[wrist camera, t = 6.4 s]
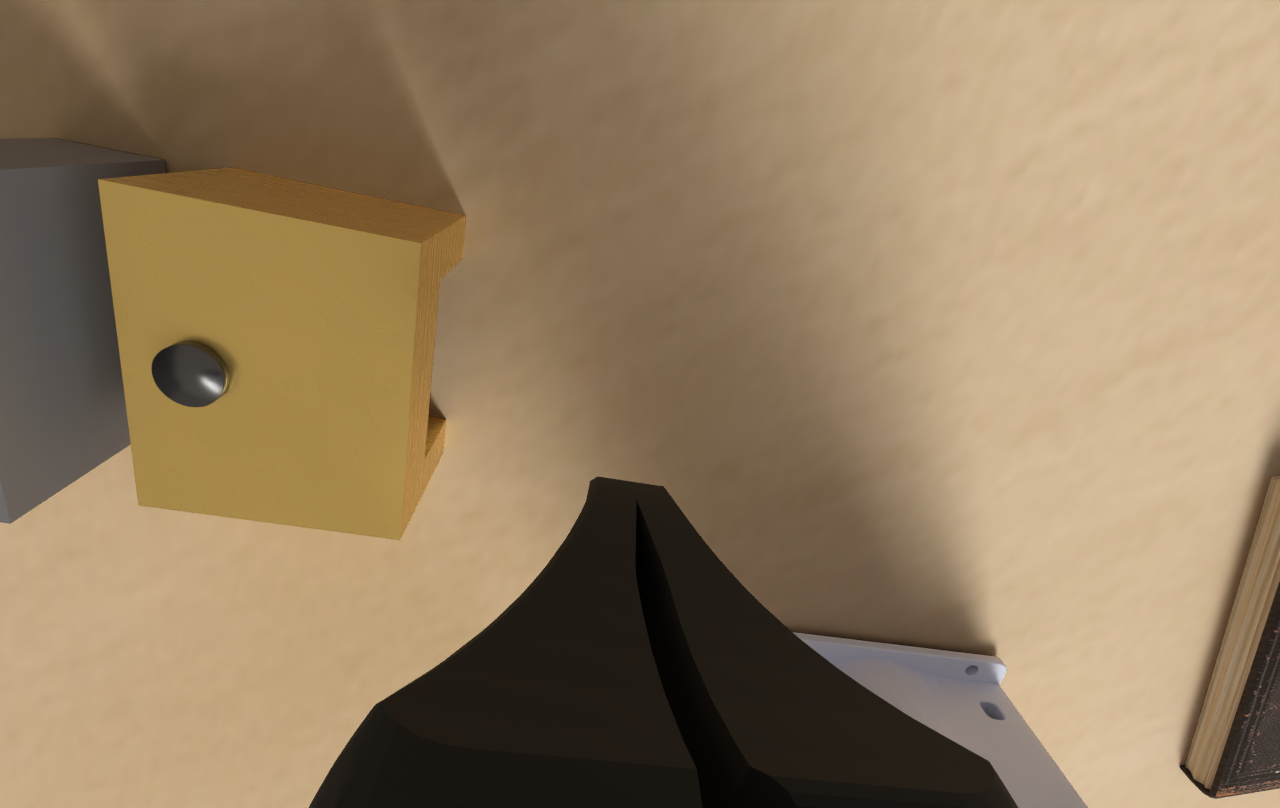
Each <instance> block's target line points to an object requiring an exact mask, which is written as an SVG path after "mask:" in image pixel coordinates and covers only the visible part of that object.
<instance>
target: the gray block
mask: <svg viewBox="0 0 1280 808" xmlns="http://www.w3.org/2000/svg"><path fill="white" fill-rule="evenodd" d="M162 173H166V165H165V160H162V159H157V158H152V157H147V156H142V155H137V154H132V153H127V152H122V151H117V150H112V149H107V148H102V147H97V146H92V145H87V144H82V143H77V142H72V141H67V140H62V139H57V138H48V139H0V522H3V523H12V522H13V521H15V520H16V519H18V518H19V517H21V516H22V515H24V514H26V513H27V512H29V511H30V510H32V509H33V508H35V507H36V506H38V505H39V504H41V503H42V502H44V501H45V500H47V499H48V498H50V497H51V496H53V495H54V494H56V493H57V492H59V491H60V490H62V489H63V488H65V487H66V486H68V485H70V484H71V483H73V482H74V481H76V480H77V479H79V478H80V477H82V476H83V475H85V474H86V473H88V472H89V471H91V470H92V469H94V468H95V467H97V466H98V465H100V464H101V463H103V462H104V461H106V460H107V459H109V458H110V457H112V456H114V455H115V454H117V453H118V452H120V451H121V450H123V449H124V448H126V447H127V446H129V445H130V444H131V442H130V434H129V426H128V418H127V410H126V402H125V394H124V386H123V378H122V370H121V362H120V354H119V346H118V338H117V330H116V322H115V314H114V306H113V297H112V289H111V281H110V273H109V265H108V257H107V249H106V241H105V233H104V225H103V217H102V209H101V201H100V193H99V185H98V179H106V178H118V177H129V176H140V175H151V174H162Z"/></svg>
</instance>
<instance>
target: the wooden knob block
mask: <svg viewBox="0 0 1280 808" xmlns="http://www.w3.org/2000/svg"><path fill="white" fill-rule="evenodd" d="M98 185H99V193H100V201H101V209H102V217H103V225H104V233H105V241H106V249H107V257H108V265H109V273H110V281H111V289H112V297H113V306H114V314H115V322H116V330H117V338H118V346H119V354H120V362H121V370H122V378H123V386H124V394H125V402H126V410H127V418H128V426H129V434H130V442H131V450H132V458H133V466H134V474H135V482H136V490H137V498H138V505H140V506H147V507H155V508H162V509H170V510H177V511H185V512H192V513H200V514H207V515H215V516H222V517H230V518H237V519H245V520H252V521H260V522H267V523H275V524H282V525H290V526H297V527H305V528H312V529H320V530H327V531H335V532H342V533H350V534H357V535H365V536H372V537H380V538H387V539H395V540H400V539H401V537H402V535H403V533H404V531H405V529H406V527H407V525H408V523H409V521H410V519H411V517H412V515H413V513H414V511H415V509H416V507H417V505H418V503H419V501H420V499H421V497H422V495H423V493H424V491H425V489H426V487H427V485H428V483H429V481H430V479H431V477H432V475H433V473H434V471H435V469H436V466H437V464H438V462H439V460H440V458H441V456H442V454H443V449H444V439H445V428H446V419H440V418H434V417H428V414H429V402H430V390H431V378H432V366H433V355H434V343H435V331H436V319H437V307H438V295H439V284H440V279H441V278H442V277H443V276H444V275H446V274H447V273H448V272H449V271H450V270H451V269H452V268H453V267H454V266H455V265H457V264H458V263H459V262H460V261H461V260H462V254H463V244H464V233H465V223H466V216H464V215H460V214H455V213H450V212H445V211H440V210H435V209H430V208H426V207H421V206H416V205H411V204H406V203H401V202H396V201H391V200H387V199H382V198H377V197H372V196H367V195H362V194H357V193H353V192H348V191H343V190H338V189H333V188H328V187H323V186H319V185H314V184H309V183H304V182H299V181H294V180H289V179H284V178H280V177H275V176H270V175H265V174H260V173H255V172H250V171H246V170H241V169H236V168H231V167H229V168H218V169H207V170H195V171H184V172H173V173H162V174H151V175H140V176H129V177H118V178H106V179H98Z"/></svg>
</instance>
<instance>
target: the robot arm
mask: <svg viewBox="0 0 1280 808" xmlns="http://www.w3.org/2000/svg"><path fill="white" fill-rule="evenodd" d="M1006 671H1007V668H1006V665H1005V664H1004V663H1003V661H1002V660H1001V659H1000V658H998V657H995V656H987V655H979V654H970V653H962V652H954V651H945V650H937V649H929V648H920V647H912V646H904V645H895V644H887V643H878V642H870V641H862V640H853V639H845V638H837V637H828V636H820V635H812V634H803V633H795V632H791V631H790V630H789V629H788V628H787V627H786V626H785V625H783V624H782V623H781V622H780V621H779V620H778V619H777V618H776V617H775V616H774V615H773V614H771V613H770V612H769V611H768V610H767V609H766V608H765V607H764V606H763V605H762V604H761V603H759V602H758V601H757V600H756V599H755V598H754V597H753V596H752V595H751V594H750V593H749V592H748V591H747V589H746V588H745V587H744V586H743V585H742V584H741V583H740V582H739V581H738V580H737V579H736V578H735V576H734V575H733V574H732V573H731V572H730V571H729V570H728V569H727V568H726V567H725V565H724V564H723V563H722V562H721V561H720V560H719V558H718V557H717V556H716V555H715V554H714V553H713V551H712V550H711V549H710V548H709V546H708V545H707V544H706V543H705V541H704V540H703V539H702V538H701V536H700V535H699V534H698V532H697V531H696V530H695V529H694V527H693V526H692V525H691V523H690V522H689V521H688V519H687V518H686V516H685V515H684V514H683V512H682V511H681V510H680V508H679V507H678V506H677V504H676V503H675V501H674V500H673V499H672V497H671V496H670V494H669V493H668V492H667V490H666V489H665V488H664V487H663V486H656V485H650V484H643V483H636V482H630V481H623V480H616V479H610V478H603V477H596V478H595V479H593V480H591V481H590V485H589V490H588V495H587V500H586V503H585V505H584V507H583V509H582V511H581V513H580V515H579V517H578V519H577V520H576V522H575V524H574V526H573V528H572V529H571V531H570V533H569V534H568V536H567V538H566V539H565V541H564V542H563V543H562V545H561V546H560V548H559V549H558V550H557V552H556V553H555V555H554V556H553V557H552V559H551V560H550V562H549V563H548V564H547V565H546V567H545V568H544V569H543V570H542V572H541V573H540V574H539V575H538V576H537V578H536V579H535V580H534V581H533V582H532V583H531V584H530V586H529V587H528V588H527V589H526V590H525V591H524V592H523V593H522V594H521V595H520V596H519V597H518V598H517V599H516V600H515V601H514V602H513V603H512V604H511V605H510V606H509V607H508V608H507V609H506V610H505V611H504V612H503V613H502V614H501V615H500V616H499V617H498V618H497V619H496V620H494V621H493V622H492V623H491V624H490V625H489V626H488V627H487V628H485V629H484V630H483V631H482V632H481V633H479V634H478V635H477V636H475V637H474V638H473V639H472V640H470V641H469V642H468V643H466V644H465V645H464V646H463V647H461V648H460V649H459V650H457V651H456V652H455V653H454V654H452V655H451V656H450V657H448V658H447V659H446V660H445V661H443V662H442V663H440V664H439V665H437V666H436V667H435V668H433V669H432V670H430V671H429V672H427V673H425V674H424V675H422V676H421V677H419V678H417V679H416V680H414V681H413V682H411V683H409V684H408V685H406V686H405V687H403V688H402V689H400V690H398V691H397V692H395V693H394V694H392V695H390V696H389V697H387V698H386V699H384V700H382V701H381V702H379V703H377V704H376V705H375V706H374V707H373V709H372V710H371V711H370V713H369V714H368V715H367V717H366V718H365V719H364V721H363V722H362V723H361V725H360V726H359V728H358V729H357V730H356V732H355V733H354V735H353V736H352V737H351V739H350V740H349V742H348V743H347V745H346V746H345V748H344V749H343V751H342V752H341V754H340V755H339V757H338V758H337V760H336V761H335V763H334V765H333V766H332V768H331V769H330V771H329V773H328V775H327V776H326V778H325V780H324V781H323V783H322V785H321V787H320V788H319V790H318V792H317V794H316V795H315V797H314V799H313V801H312V803H311V804H310V806H309V808H1088V807H1087V806H1086V804H1085V803H1084V802H1083V800H1082V799H1081V798H1080V796H1079V795H1078V793H1077V792H1076V791H1075V789H1074V788H1073V786H1072V785H1071V784H1070V782H1069V781H1068V780H1067V778H1066V777H1065V775H1064V774H1063V773H1062V771H1061V770H1060V768H1059V767H1058V766H1057V764H1056V763H1055V762H1054V760H1053V759H1052V757H1051V756H1050V755H1049V753H1048V752H1047V750H1046V749H1045V748H1044V746H1043V745H1042V744H1041V742H1040V741H1039V739H1038V738H1037V737H1036V735H1035V734H1034V733H1033V731H1032V730H1031V728H1030V727H1029V726H1028V724H1027V723H1026V721H1025V720H1024V719H1023V717H1022V716H1021V715H1020V713H1019V712H1018V710H1017V709H1016V708H1015V706H1014V705H1013V703H1012V702H1011V701H1010V699H1009V698H1008V697H1007V695H1006V694H1005V692H1004V691H1003V690H1002V688H1001V687H1000V685H999V684H1000V682H1001V681H1002V679H1003V677H1004V676H1005V674H1006Z"/></svg>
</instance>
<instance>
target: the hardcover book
mask: <svg viewBox="0 0 1280 808" xmlns="http://www.w3.org/2000/svg"><path fill="white" fill-rule="evenodd" d="M1180 768H1181V770H1182V771H1183V772H1184V773H1185V774H1186V776H1187V777H1188V778H1189V779H1190V780H1191V781H1192V782H1193V783H1194V784H1195V785H1196V786H1197V787H1198V788H1199V789H1200V790H1201V791H1202V792H1203V793H1204V794H1205V795H1207V796H1209V797H1210V798H1215V799H1217V798H1223V797H1229V796H1235V795H1242V794H1248V793H1254V792H1260V791H1266V790H1272V789H1278V788H1280V476H1276V477H1271V480H1270V484H1269V487H1268V490H1267V494H1266V497H1265V500H1264V504H1263V507H1262V510H1261V514H1260V517H1259V520H1258V523H1257V527H1256V530H1255V533H1254V537H1253V540H1252V543H1251V547H1250V550H1249V553H1248V557H1247V560H1246V563H1245V567H1244V570H1243V573H1242V577H1241V580H1240V583H1239V587H1238V590H1237V593H1236V597H1235V600H1234V603H1233V607H1232V610H1231V613H1230V617H1229V620H1228V623H1227V627H1226V630H1225V633H1224V637H1223V640H1222V643H1221V647H1220V650H1219V653H1218V657H1217V660H1216V663H1215V667H1214V670H1213V673H1212V677H1211V680H1210V683H1209V687H1208V690H1207V693H1206V697H1205V700H1204V703H1203V707H1202V710H1201V713H1200V717H1199V720H1198V723H1197V726H1196V730H1195V733H1194V736H1193V740H1192V743H1191V746H1190V750H1189V753H1188V756H1187V760H1186V763H1185V765H1180Z"/></svg>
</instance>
